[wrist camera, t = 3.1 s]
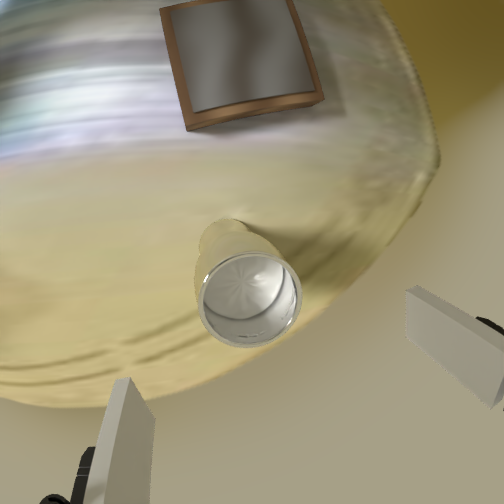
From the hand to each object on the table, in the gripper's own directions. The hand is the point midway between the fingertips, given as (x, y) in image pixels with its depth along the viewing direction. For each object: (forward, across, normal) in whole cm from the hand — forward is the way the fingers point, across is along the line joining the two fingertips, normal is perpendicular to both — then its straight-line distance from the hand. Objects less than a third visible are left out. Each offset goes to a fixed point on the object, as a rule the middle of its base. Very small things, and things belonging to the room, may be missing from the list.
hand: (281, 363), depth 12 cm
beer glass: (+21, 0, 0) cm, 21 cm away
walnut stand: (+21, +6, +20) cm, 30 cm away
